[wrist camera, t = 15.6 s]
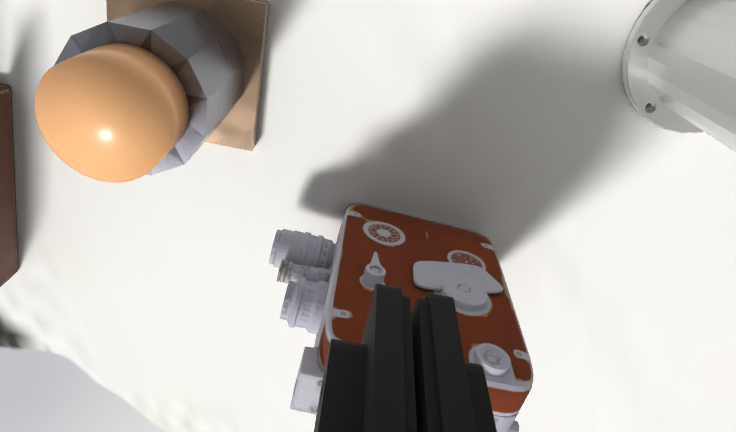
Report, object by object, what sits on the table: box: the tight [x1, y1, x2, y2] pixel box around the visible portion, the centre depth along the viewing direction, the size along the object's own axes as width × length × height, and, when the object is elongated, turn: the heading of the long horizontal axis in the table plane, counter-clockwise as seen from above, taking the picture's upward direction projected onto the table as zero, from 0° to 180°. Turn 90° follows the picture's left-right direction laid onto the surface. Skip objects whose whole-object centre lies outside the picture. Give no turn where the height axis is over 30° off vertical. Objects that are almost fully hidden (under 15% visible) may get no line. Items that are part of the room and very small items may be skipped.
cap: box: [34, 43, 189, 182], centre depth 34 cm, size 7×7×7 cm
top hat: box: [54, 0, 269, 175], centre depth 39 cm, size 12×12×11 cm
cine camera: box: [269, 204, 533, 432], centre depth 42 cm, size 9×19×20 cm, turn 75°
